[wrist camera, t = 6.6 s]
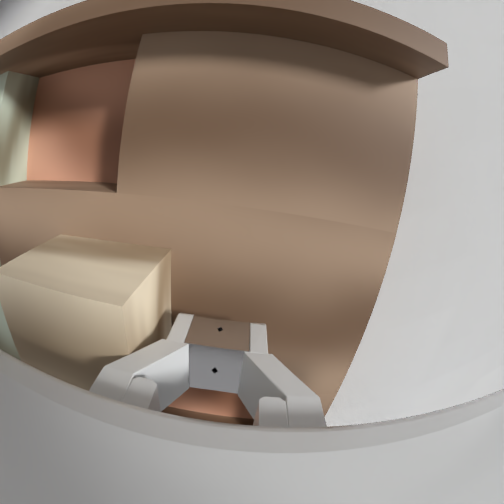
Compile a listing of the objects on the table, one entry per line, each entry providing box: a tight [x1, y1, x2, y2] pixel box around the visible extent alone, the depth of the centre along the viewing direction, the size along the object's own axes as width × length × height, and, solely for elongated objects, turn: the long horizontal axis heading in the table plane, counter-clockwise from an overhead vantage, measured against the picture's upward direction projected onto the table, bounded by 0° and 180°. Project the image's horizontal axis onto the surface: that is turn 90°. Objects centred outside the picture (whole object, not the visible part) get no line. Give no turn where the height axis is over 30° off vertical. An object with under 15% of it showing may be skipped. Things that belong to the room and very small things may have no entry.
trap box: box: [0, 0, 448, 426], centre depth 10 cm, size 22×25×5 cm
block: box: [0, 235, 172, 391], centre depth 8 cm, size 5×5×4 cm
